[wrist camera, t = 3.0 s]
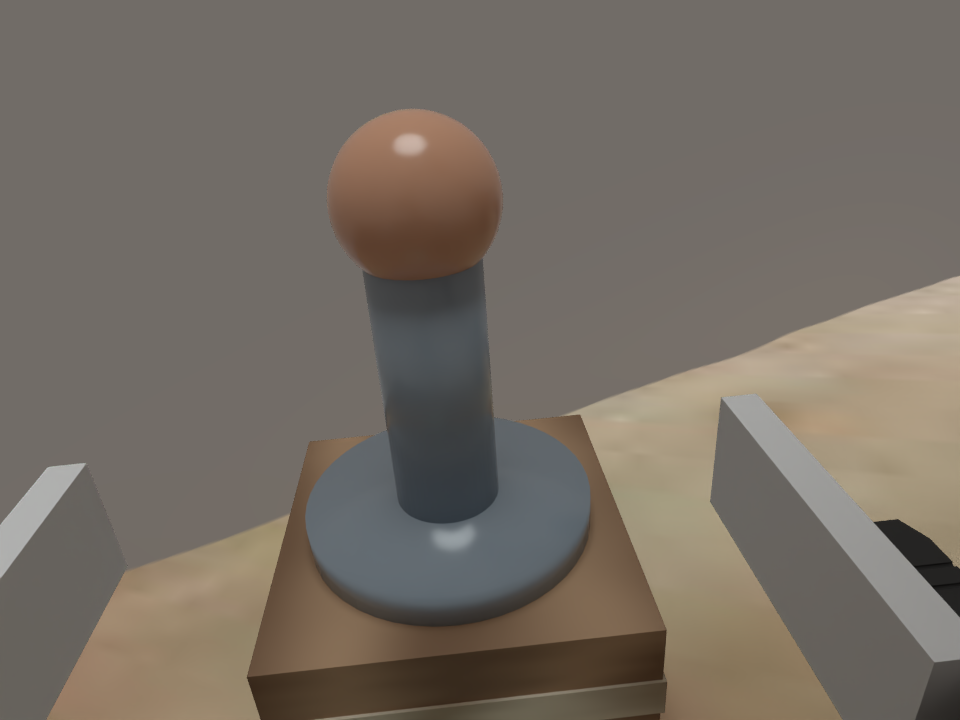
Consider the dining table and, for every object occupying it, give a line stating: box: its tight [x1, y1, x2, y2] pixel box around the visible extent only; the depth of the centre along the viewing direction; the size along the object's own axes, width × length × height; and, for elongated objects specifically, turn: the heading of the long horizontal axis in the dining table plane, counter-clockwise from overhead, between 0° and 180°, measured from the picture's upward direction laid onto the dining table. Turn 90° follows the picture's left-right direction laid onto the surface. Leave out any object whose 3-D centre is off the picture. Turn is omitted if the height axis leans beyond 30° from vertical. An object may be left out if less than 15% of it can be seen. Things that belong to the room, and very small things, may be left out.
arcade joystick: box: [305, 109, 590, 627], centre depth 22 cm, size 10×10×14 cm
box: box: [247, 415, 667, 720], centre depth 26 cm, size 12×12×7 cm
